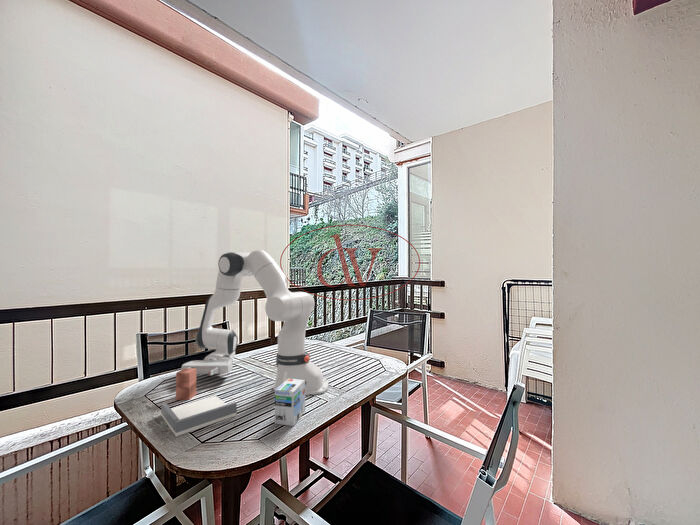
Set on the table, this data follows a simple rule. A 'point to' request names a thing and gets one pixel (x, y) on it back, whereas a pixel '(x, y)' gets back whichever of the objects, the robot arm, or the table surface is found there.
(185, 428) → the tray
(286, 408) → the light bulb box
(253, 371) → the table surface
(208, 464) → the table surface
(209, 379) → the table surface
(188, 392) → the brick-red block
